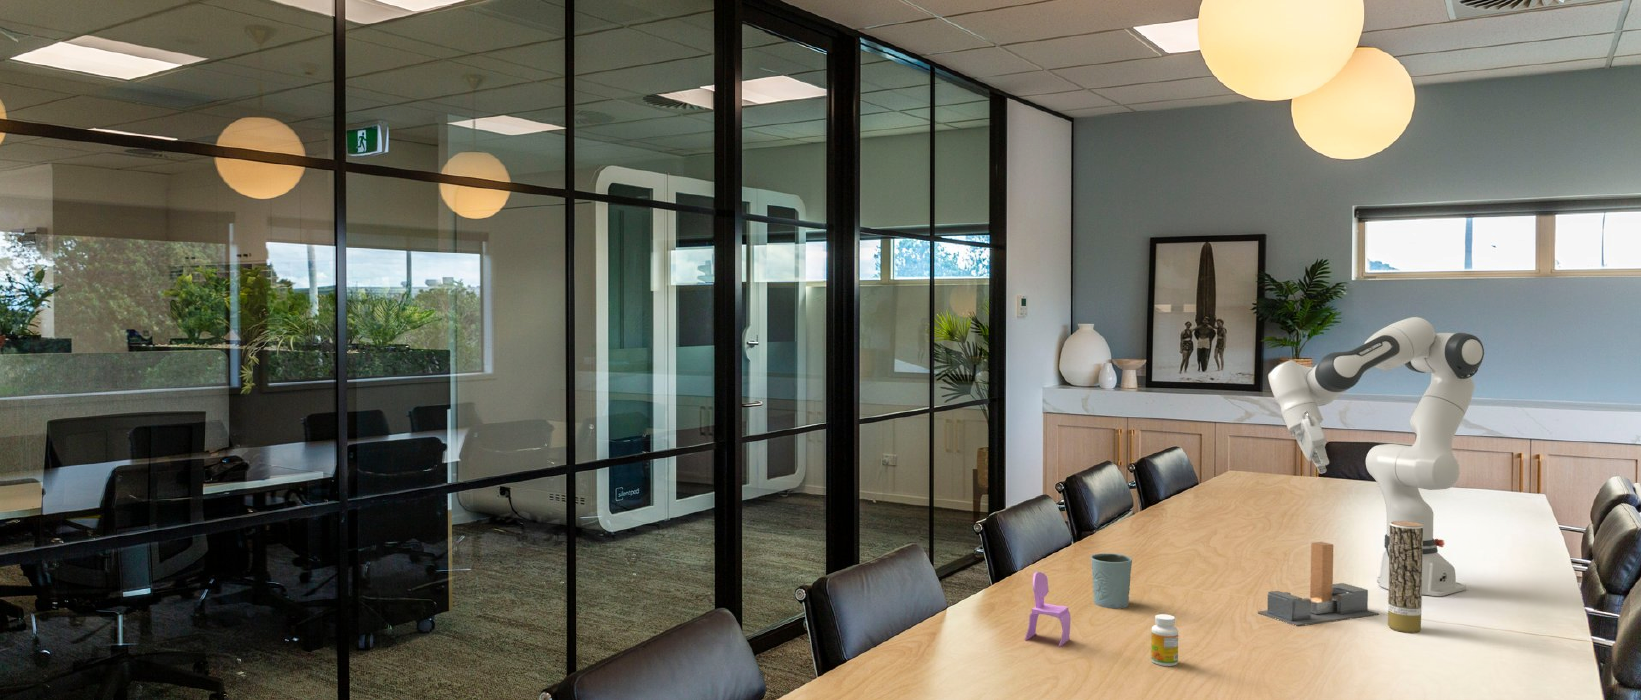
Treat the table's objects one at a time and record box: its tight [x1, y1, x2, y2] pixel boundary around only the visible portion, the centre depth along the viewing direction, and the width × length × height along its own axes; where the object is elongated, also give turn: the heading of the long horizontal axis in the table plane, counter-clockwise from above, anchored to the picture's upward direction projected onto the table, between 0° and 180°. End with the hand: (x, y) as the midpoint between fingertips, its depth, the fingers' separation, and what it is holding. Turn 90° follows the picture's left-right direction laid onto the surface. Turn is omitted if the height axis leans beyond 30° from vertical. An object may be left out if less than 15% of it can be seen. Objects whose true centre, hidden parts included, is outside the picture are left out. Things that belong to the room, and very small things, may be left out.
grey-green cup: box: [1090, 552, 1133, 609], centre depth 263 cm, size 10×10×12 cm
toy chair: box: [1024, 571, 1071, 648], centre depth 232 cm, size 8×9×15 cm
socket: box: [1267, 590, 1311, 622], centre depth 251 cm, size 6×7×5 cm
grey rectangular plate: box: [1257, 609, 1379, 627], centre depth 255 cm, size 27×12×1 cm, turn 112°
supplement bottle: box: [1150, 613, 1179, 667], centre depth 217 cm, size 5×5×10 cm
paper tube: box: [1387, 521, 1423, 634], centre depth 242 cm, size 7×7×25 cm
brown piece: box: [1309, 541, 1337, 614], centre depth 256 cm, size 15×4×17 cm, turn 112°
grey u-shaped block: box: [1332, 582, 1369, 615], centre depth 258 cm, size 9×7×5 cm
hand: (1324, 468), depth 265 cm, fingers open, 8 cm apart
